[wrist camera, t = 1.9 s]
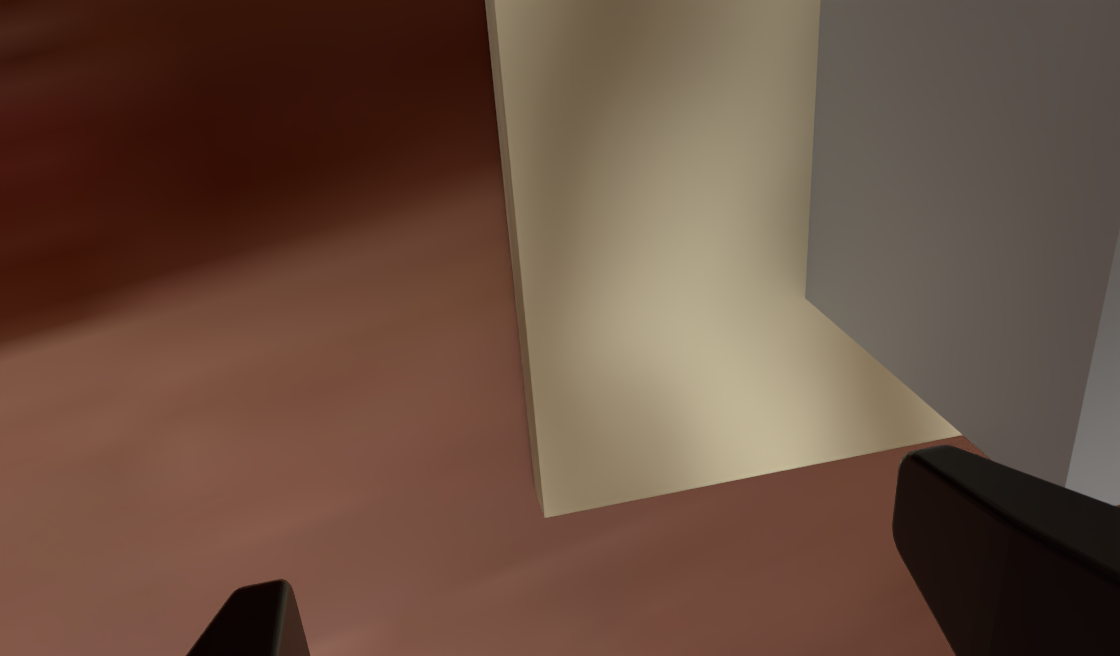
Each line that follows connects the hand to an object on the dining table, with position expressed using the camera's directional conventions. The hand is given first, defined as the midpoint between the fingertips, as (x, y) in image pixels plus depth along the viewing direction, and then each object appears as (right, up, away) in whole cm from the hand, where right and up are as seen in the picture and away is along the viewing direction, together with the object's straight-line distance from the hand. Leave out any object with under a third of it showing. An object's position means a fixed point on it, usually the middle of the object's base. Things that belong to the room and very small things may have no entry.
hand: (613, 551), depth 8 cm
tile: (+5, +6, +11) cm, 13 cm away
